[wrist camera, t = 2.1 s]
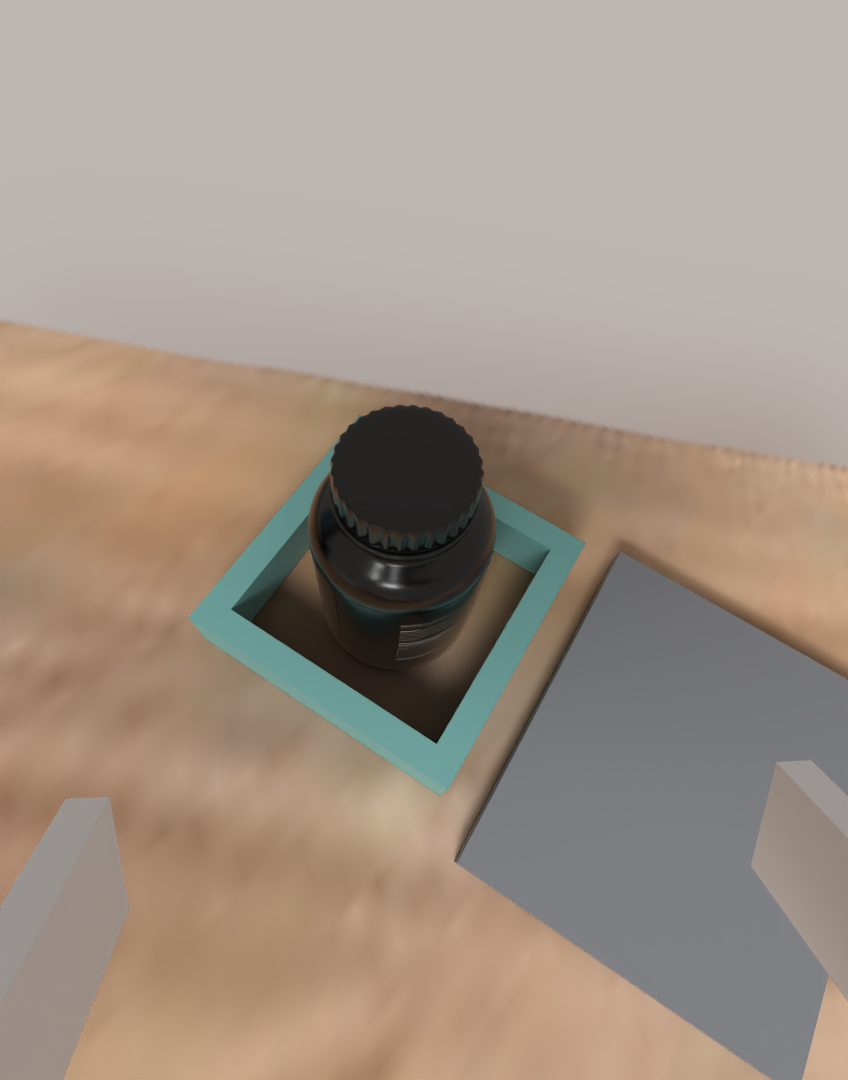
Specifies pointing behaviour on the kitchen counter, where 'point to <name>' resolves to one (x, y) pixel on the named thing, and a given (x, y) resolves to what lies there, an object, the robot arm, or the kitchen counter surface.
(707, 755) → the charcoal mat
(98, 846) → the robot arm
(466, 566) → the supplement bottle
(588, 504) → the kitchen counter surface
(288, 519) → the teal collar
